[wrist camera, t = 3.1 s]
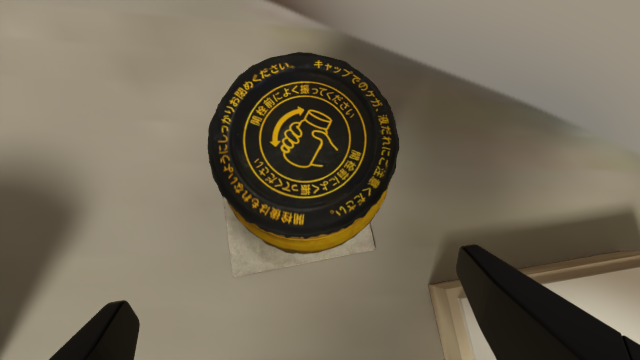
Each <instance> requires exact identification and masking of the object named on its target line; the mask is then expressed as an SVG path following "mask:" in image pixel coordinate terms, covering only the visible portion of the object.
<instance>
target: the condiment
mask: <svg viewBox="0 0 640 360" xmlns="http://www.w3.org/2000/svg"><path fill="white" fill-rule="evenodd" d="M208 131H209V136H208V154H209V163H210V165H211V170H212V174H213V178H214V180H215V182H216V183H217V185H218V188H219V191H220V192H221V194H222V196H223V201H224V208H225V216H226V223H227V232H228V241H229V248H230V255H231V265H232V273H233V277H238V276H243V275H248V274H253V273H258V272H263V271H269V270H273V269H279V268H284V267H289V266H294V265H299V264H304V263H310V262H315V261H320V260H325V259H330V258H335V257H340V256H346V255H351V254H356V253H361V252H366V251H372V250H375V246H374V241H373V237H372V232H371V228H370V222H371V220H372V219H373V217H374V216H375V214H376V213H377V212H378V210H379V208H380V206H381V205H382V203H383V201H384V199H385V197H386V193H387V189H388V185H389V182H390V180H391V178H392V175H393V174H394V172H395V168H396V158H397V154H398V151H399V138H398V134H397V130H396V124H395V120H394V116H393V113H392V111H391V107H390V106H389V104H388V102H387V100H386V99H385V98H384V97H383V96H382V95H381V93H380V91H379V90H378V88H377V86H376V85H375V84H374V83H373V82H372V81H371V80H369V79H368V78H367V77H365V76H364V75H363V74H362V73H360V72H359V71H358V70H356V69H354V68H353V67H351V66H350V65H349V64H348V63H347V62H345V61H342V60H337V59H333V58H330V57H326V56H321V55H316V54H312V53H301V52H298V53H292V54H288V55H283V56H277V57H272V58H269V59H266V60H264V61H262V62H260V63H258V64H256V65H253V66H251V67H250V68H249V69H247V70H246V71H245V72H244V73H242V74H241V75H239V76H238V78H237V79H236V80H235V81H234V83H233V84H232V85H231V87H230V88H229V90H228V91H227V93H226V94H225V96H224V97H223V98H222V100H221V102H220V103H219V104H218V107H217V109H216V112H215V114H214V116H213V118H212V120H211V122H210V125H209V130H208Z"/></svg>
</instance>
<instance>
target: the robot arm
mask: <svg viewBox="0 0 640 360" xmlns="http://www.w3.org/2000/svg"><path fill="white" fill-rule="evenodd" d="M456 271H457V275H458V278H459V280H460V282H461V285H462V287H463V290H464V292H465V294H466V297H467V299H468V302H469V304H470V306H471V309H472V311H473V314H474V316H475V318H476V321H477V323H478V325H479V327H480V329H481V331H482V333H483V335H484V337H485V339H486V341H487V343H488V344H489V346H490V348H491V350H492V352H493V354H494V355H495V357H496V359H497V360H640V344H638V343H636V342H635V341H633V340H632V339H630V338H628V337H627V336H624V335H623V336H622V335H621V333H620V332H618V331H617V330H615V329H613V328H612V327H610V326H608V325H607V324H605V323H604V322H602V321H600V320H599V319H597V318H595V317H594V316H592V315H591V314H589V313H587V312H586V311H584V310H582V309H581V308H579V307H578V306H576V305H574V304H573V303H571V302H569V301H568V300H566V299H564V298H563V297H561V296H560V295H558V294H556V293H555V292H553V291H551V290H550V289H548V288H547V287H545V286H543V285H542V284H540V283H538V282H537V281H535V280H534V279H532V278H530V277H529V276H527V275H525V274H524V273H522V272H521V271H519V270H517V269H516V268H514V267H512V266H511V265H509V264H507V263H506V262H504V261H503V260H501V259H499V258H498V257H496V256H494V255H493V254H491V253H490V252H488V251H486V250H485V249H483V248H481V247H480V246H478V245H474V244H473V245H467V246H462V247H461V248H460V250H459V254H458V260H457V265H456ZM139 325H140V324H139V319H138V317H137V316H136V314H135V312H134V311H133V309H132V308H131V306H130V305H129V303H128V302H127V301H124V300H122V301H116V302H111V303H108V304H107V305H105V306H104V307H103V308H102V309H101V310H100V311H99V312H98V313H97V314H96V315H95V316H94V317H93V318H92V319H91V320H90V321H89V322H88V323H87V324H85V325H84V326H83V327H82V328H81V329H80V330H79V331H78V332H77V333H76V334H75V335H74V336H73V337H72V338H71V339H70V340H69V341H68V342H67V343H66V344H65V345H64V346H63V347H62V348H60V349H59V350H58V351H57V352H56V353H55V354H54V355H53V356H52V357H51V358H50V359H49V360H134V356H135V350H136V344H137V339H138V333H139Z"/></svg>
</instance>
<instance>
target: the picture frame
mask: <svg viewBox="0 0 640 360" xmlns="http://www.w3.org/2000/svg"><path fill="white" fill-rule="evenodd" d="M517 270H519V271H521V272H522V273H524V274H525V275H527V276H529V277H530V278H532V279H534V280H535V281H537V282H538V283H540V284H542V285H543V286H545V287H547V288H548V289H550V290H551V291H553V292H555V293H556V294H558V295H560V296H561V297H563V298H564V299H566V300H568V301H569V302H571V303H573V304H574V305H576V306H578V307H579V308H581V309H582V310H584V311H586V312H587V313H589V314H591V315H592V316H594V317H595V318H597V319H599V320H600V321H602V322H604V323H605V324H607V325H608V326H610V327H612V328H613V329H615V330H617V331H618V332H620V333H621V335H622V336H623V335H624V336H627V337H628V338H630V339H632V340H633V341H635V342H636V343H638V344H640V251H619V252H614V253H608V254H602V255H596V256H591V257H585V258H579V259H573V260H568V261H562V262H556V263H551V264H545V265H539V266H533V267H528V268H522V269H517ZM428 286H429V290H430V295H431V299H432V304H433V308H434V313H435V317H436V321H437V326H438V330H439V335H440V339H441V344H442V348H443V353H444V357H445V360H497V359H496V357H495V355H494V354H493V352H492V350H491V348H490V346H489V344H488V343H487V341H486V339H485V337H484V335H483V333H482V331H481V329H480V327H479V325H478V323H477V321H476V318H475V316H474V314H473V311H472V309H471V306H470V304H469V302H468V299H467V297H466V294H465V292H464V290H463V287H462V285H461V282H460V280H453V281H447V282H442V283H436V284H430V285H428Z"/></svg>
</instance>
